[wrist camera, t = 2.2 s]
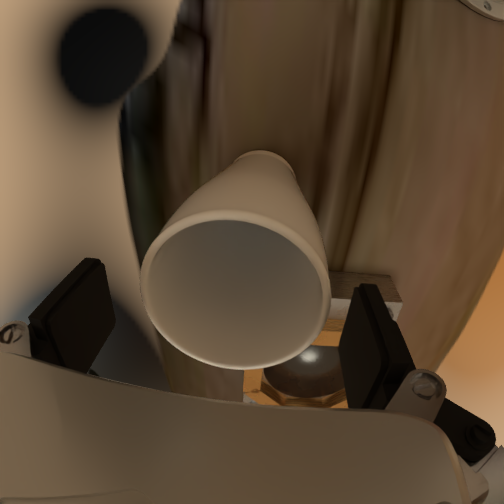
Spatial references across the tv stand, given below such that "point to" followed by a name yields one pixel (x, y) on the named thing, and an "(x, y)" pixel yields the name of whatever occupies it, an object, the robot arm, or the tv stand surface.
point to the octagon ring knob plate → (317, 354)
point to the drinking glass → (240, 269)
